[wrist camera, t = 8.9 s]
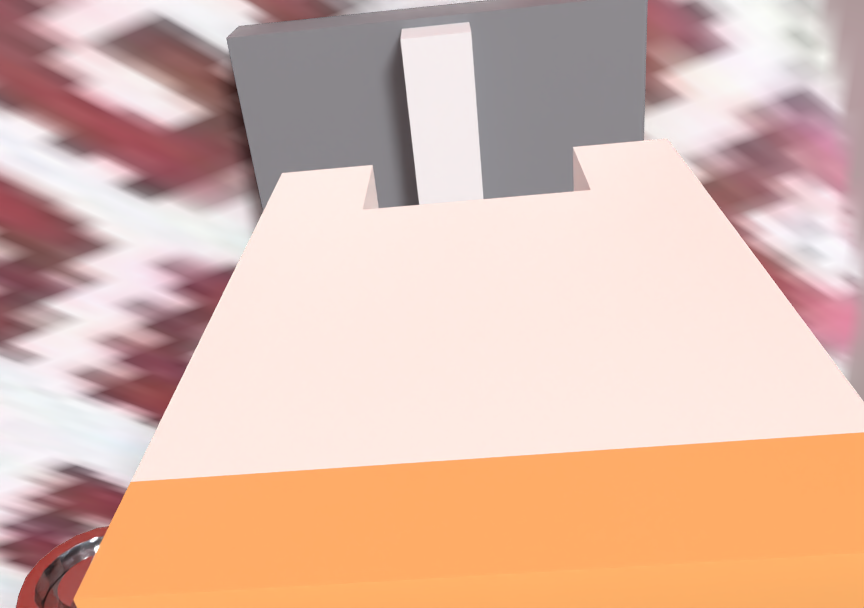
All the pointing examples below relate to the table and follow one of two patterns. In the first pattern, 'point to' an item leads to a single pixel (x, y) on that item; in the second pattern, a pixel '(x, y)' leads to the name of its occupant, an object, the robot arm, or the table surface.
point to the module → (498, 413)
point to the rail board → (444, 95)
